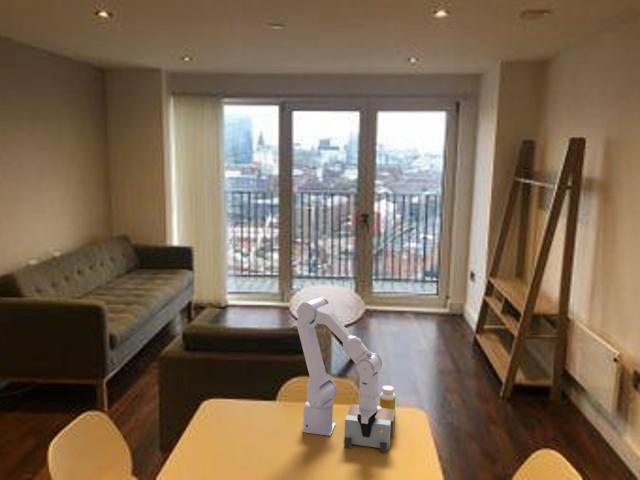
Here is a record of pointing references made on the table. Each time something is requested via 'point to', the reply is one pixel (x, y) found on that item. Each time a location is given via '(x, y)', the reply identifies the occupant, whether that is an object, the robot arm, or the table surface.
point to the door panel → (378, 434)
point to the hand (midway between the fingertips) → (367, 433)
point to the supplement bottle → (387, 397)
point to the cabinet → (383, 414)
